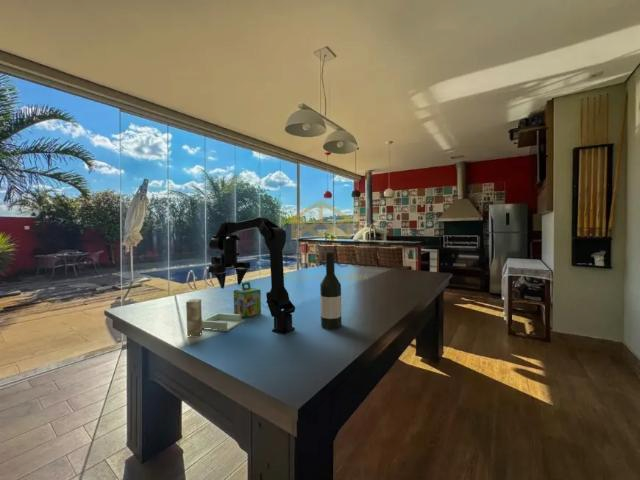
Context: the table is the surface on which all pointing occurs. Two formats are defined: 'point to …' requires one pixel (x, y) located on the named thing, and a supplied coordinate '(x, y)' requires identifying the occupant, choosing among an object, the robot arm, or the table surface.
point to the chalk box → (247, 301)
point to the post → (194, 317)
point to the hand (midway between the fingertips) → (231, 286)
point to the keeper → (222, 321)
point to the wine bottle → (330, 296)
